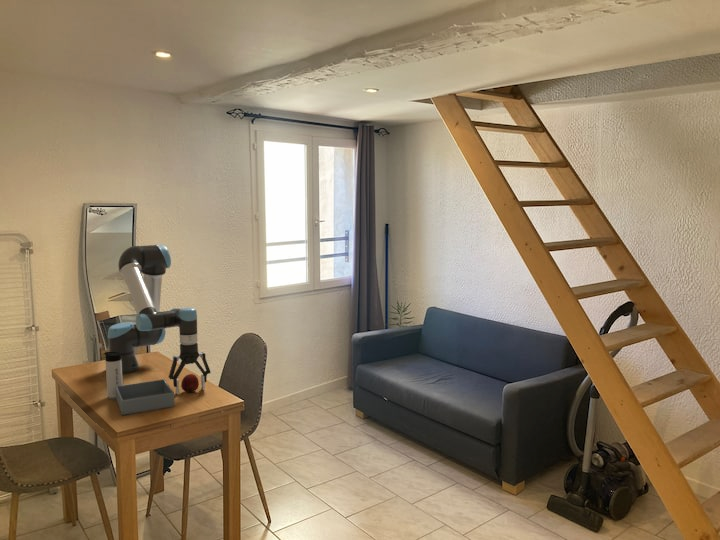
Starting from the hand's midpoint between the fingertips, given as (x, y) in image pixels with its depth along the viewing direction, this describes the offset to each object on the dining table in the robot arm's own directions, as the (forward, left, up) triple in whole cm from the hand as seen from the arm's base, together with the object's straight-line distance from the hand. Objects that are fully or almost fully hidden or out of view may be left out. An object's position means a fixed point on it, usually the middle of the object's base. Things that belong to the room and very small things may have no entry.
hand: (190, 391), depth 246 cm
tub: (+5, -20, 0) cm, 21 cm away
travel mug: (-9, -30, 0) cm, 31 cm away
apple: (0, 0, 0) cm, 0 cm away
